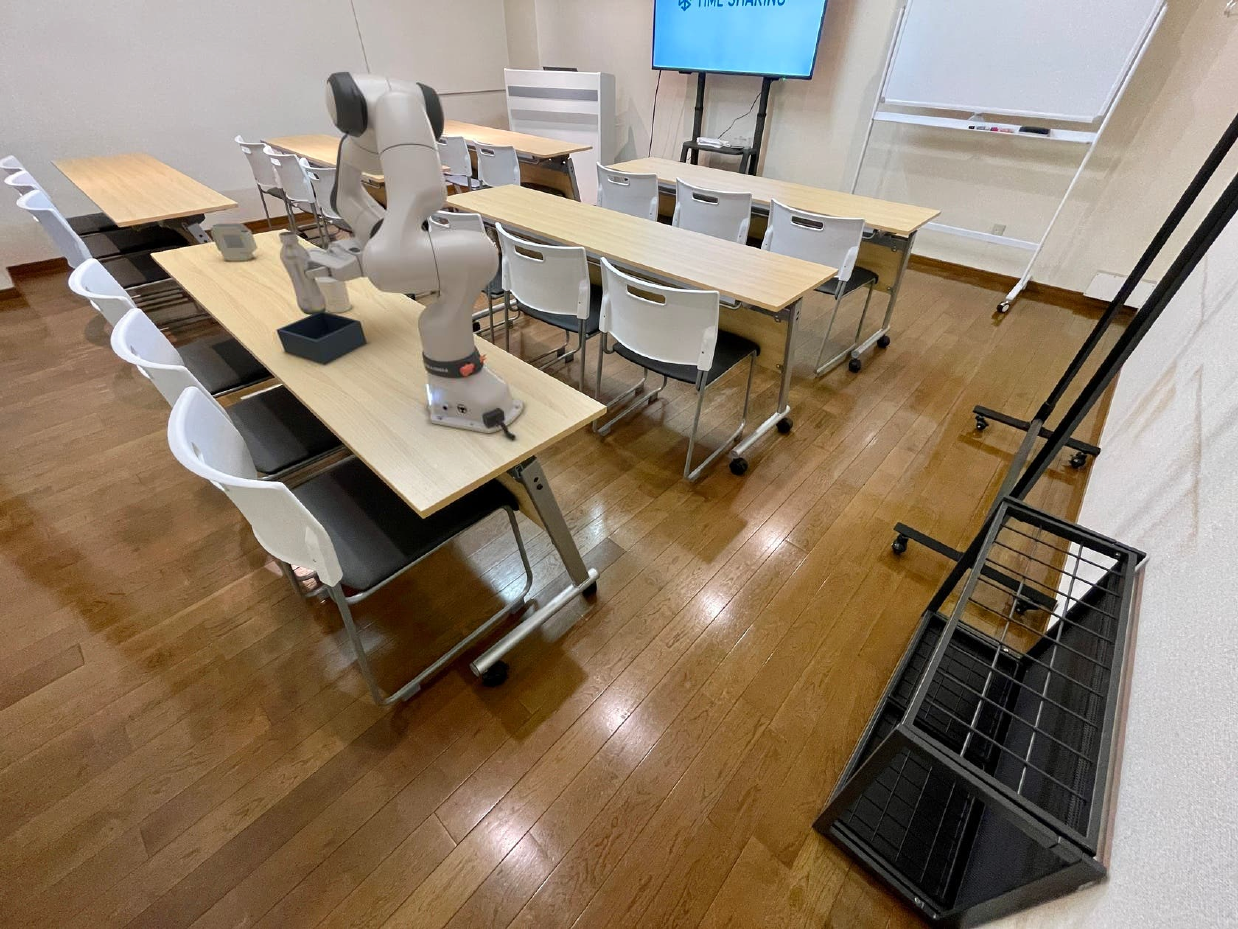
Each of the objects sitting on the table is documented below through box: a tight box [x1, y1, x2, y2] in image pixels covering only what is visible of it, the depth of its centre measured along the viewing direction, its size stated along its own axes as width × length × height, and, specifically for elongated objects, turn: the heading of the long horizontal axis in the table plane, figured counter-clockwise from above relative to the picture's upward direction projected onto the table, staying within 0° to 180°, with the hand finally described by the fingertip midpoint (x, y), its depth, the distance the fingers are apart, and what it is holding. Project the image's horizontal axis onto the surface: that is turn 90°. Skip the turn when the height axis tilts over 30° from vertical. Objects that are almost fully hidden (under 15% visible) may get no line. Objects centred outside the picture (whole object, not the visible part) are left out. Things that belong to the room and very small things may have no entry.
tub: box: [275, 311, 368, 366], centre depth 141 cm, size 15×15×7 cm
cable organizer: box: [209, 222, 258, 262], centre depth 192 cm, size 7×12×12 cm, turn 102°
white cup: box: [315, 277, 352, 314], centre depth 161 cm, size 8×8×10 cm
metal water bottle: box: [278, 231, 327, 316], centre depth 131 cm, size 6×7×20 cm
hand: (297, 272), depth 130 cm, fingers closed on metal water bottle, 6 cm apart
